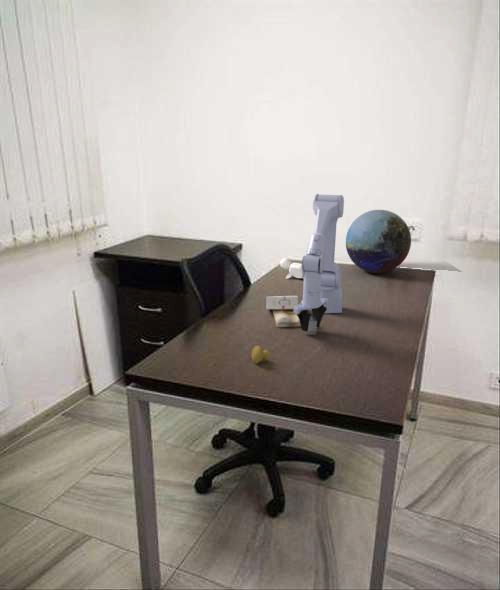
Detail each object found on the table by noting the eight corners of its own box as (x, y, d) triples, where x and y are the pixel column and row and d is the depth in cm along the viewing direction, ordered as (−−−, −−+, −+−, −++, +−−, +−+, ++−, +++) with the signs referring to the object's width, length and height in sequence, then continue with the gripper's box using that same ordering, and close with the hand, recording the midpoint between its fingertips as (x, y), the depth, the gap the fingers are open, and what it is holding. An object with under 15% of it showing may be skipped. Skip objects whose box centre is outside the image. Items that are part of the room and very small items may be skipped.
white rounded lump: (307, 282, 220) (281, 267, 224) (314, 267, 216) (287, 252, 220) (301, 287, 213) (273, 272, 217) (308, 271, 209) (280, 256, 213)
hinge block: (314, 330, 159) (314, 315, 157) (316, 334, 155) (317, 319, 154) (304, 330, 158) (304, 315, 157) (306, 334, 155) (306, 319, 153)
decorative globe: (416, 280, 211) (423, 215, 201) (350, 281, 212) (354, 215, 202) (397, 263, 239) (403, 205, 230) (339, 263, 240) (342, 205, 230)
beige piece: (304, 312, 174) (304, 300, 173) (311, 326, 161) (312, 314, 160) (272, 313, 174) (272, 301, 172) (277, 328, 161) (277, 315, 159)
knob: (256, 366, 134) (256, 351, 132) (249, 359, 138) (249, 344, 137) (270, 363, 136) (271, 348, 134) (263, 356, 140) (263, 341, 139)
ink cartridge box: (267, 295, 179) (306, 295, 177) (267, 308, 179) (306, 308, 177) (266, 296, 170) (306, 295, 169) (266, 309, 170) (306, 309, 169)
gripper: (318, 283, 159) (316, 319, 164) (287, 291, 151) (286, 330, 155) (333, 288, 154) (331, 326, 158) (302, 297, 145) (301, 337, 150)
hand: (310, 328), depth 156 cm, fingers closed on hinge block, 5 cm apart
